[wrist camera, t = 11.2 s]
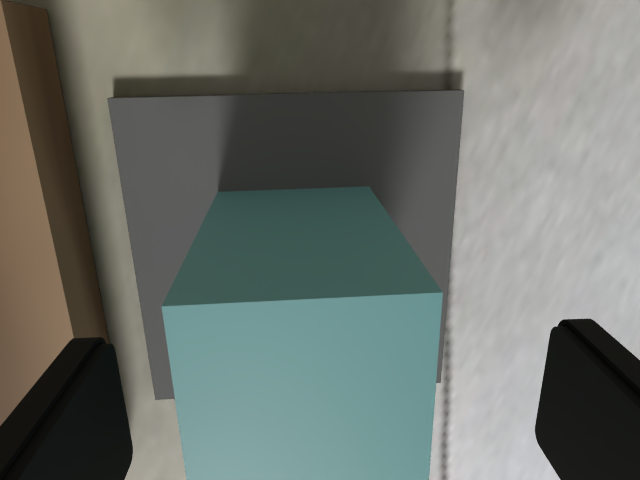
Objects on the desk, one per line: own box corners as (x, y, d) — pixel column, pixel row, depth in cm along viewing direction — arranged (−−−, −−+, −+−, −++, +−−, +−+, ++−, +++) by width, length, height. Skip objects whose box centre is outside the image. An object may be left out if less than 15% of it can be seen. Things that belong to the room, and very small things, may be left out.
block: (369, 186, 16) (442, 292, 9) (367, 319, 18) (427, 501, 11) (217, 191, 16) (161, 306, 9) (229, 326, 18) (192, 519, 10)
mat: (458, 89, 16) (463, 90, 16) (436, 374, 20) (440, 382, 19) (112, 97, 15) (107, 98, 15) (158, 391, 19) (155, 399, 19)
